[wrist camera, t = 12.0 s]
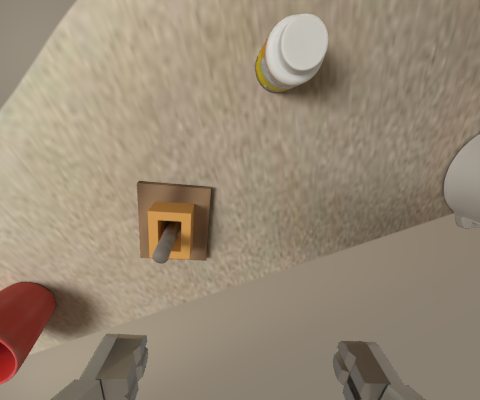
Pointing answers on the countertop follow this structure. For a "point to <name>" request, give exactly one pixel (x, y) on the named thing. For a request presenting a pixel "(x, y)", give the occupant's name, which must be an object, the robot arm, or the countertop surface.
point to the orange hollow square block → (171, 213)
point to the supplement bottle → (292, 53)
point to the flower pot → (21, 323)
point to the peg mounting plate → (172, 229)
